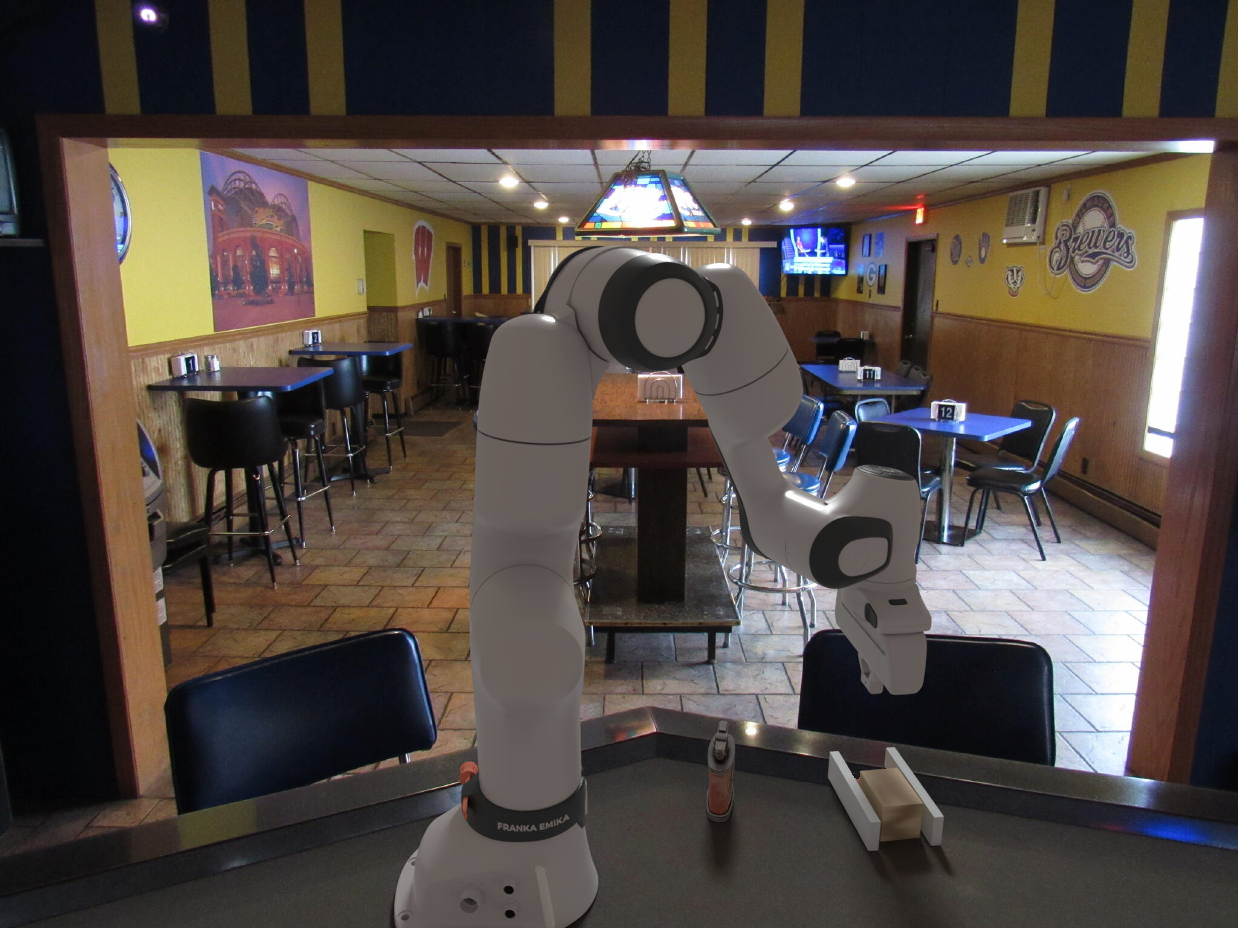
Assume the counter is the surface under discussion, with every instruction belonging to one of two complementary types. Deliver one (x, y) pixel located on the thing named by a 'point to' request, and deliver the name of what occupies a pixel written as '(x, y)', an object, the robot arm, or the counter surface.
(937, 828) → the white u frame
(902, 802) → the maple block
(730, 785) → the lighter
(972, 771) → the counter surface
